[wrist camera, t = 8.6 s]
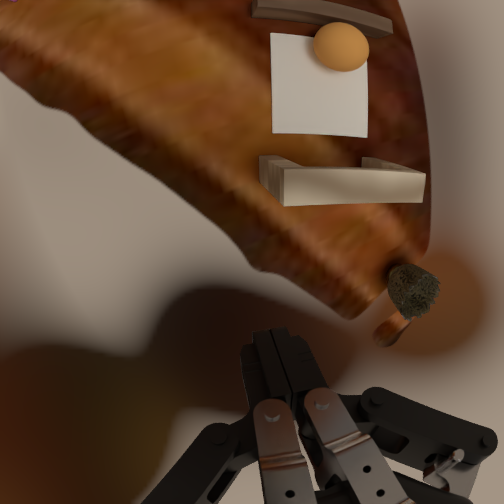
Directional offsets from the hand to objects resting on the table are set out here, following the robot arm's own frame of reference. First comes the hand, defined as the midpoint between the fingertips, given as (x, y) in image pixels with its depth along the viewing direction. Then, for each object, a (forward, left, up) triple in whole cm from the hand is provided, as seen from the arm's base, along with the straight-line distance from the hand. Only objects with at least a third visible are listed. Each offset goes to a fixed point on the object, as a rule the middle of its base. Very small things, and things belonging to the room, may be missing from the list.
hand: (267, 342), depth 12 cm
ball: (-18, +13, -19) cm, 29 cm away
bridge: (-4, +12, -22) cm, 25 cm away
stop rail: (-23, +12, -22) cm, 34 cm away
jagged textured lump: (+12, +26, -22) cm, 36 cm away
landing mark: (-14, +12, -22) cm, 28 cm away
